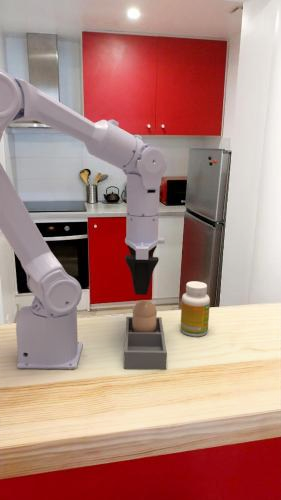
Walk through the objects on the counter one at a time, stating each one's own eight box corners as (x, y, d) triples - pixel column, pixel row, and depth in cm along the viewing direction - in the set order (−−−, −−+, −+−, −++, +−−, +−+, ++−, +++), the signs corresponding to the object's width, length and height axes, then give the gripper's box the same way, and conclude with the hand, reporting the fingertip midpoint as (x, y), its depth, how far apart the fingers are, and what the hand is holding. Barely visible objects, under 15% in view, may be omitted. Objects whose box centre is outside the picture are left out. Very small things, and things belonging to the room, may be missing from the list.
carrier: (124, 368, 58) (124, 352, 57) (126, 330, 71) (126, 316, 70) (166, 369, 58) (166, 352, 57) (160, 331, 71) (161, 317, 70)
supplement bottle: (207, 338, 68) (210, 290, 66) (178, 335, 69) (181, 288, 67) (208, 326, 73) (211, 281, 71) (181, 323, 74) (183, 278, 72)
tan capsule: (132, 342, 65) (132, 306, 63) (132, 331, 69) (132, 296, 68) (156, 343, 65) (157, 306, 63) (155, 331, 70) (156, 296, 68)
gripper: (168, 221, 57) (165, 302, 60) (162, 208, 71) (160, 274, 74) (123, 220, 57) (122, 301, 60) (126, 208, 71) (126, 274, 74)
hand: (141, 286), depth 67 cm, fingers open, 7 cm apart
